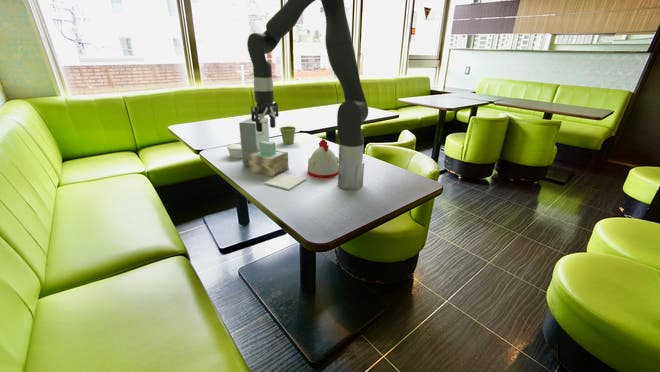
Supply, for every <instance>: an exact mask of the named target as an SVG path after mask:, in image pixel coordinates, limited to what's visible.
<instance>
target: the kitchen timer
mask: <svg viewBox="0 0 660 372" xmlns="http://www.w3.org/2000/svg"><path fill="white" fill-rule="evenodd" d="M318 146H319V147H318V148H316V149H315V150H314V151H313V152H312V154H311V156H310V157H308V162H307V164H308V166H307V175H308V176H310V177H312V178H315V179H322V180H323V179H324V180H325V179H331V178H332V179H333V178H336V177H338V167H339V156H336V154H335V153H334V152H333V151H332V150H331V148H329V147H330V145H329V144H328V141H326V139H324V138H322V139H321V140H320V141H319V142H318Z"/></svg>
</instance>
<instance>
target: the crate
mask: <svg viewBox="0 0 660 372" xmlns="http://www.w3.org/2000/svg"><path fill="white" fill-rule="evenodd" d="M259 151H260V150H258V151H255V152H252V153H250V154H248V159H249V166H248V170H249V172H250V173H254V174H259V175H263V176H268V177H271V178H274V177H276V176H278V175H280V174H282V173H285V172H286V171H288V170H289V152H288V151H284V150H278V149H276V152H281V153H283V154H281V155H278V156H276V157H274V158H268V157H263V156H258V155H253V154H254V153H257V152H259Z"/></svg>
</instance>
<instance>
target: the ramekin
mask: <svg viewBox="0 0 660 372" xmlns="http://www.w3.org/2000/svg"><path fill="white" fill-rule="evenodd" d="M227 151H228V153H229V157H231V158H233V159H242V149H241V142H237V143H232V144H229V145H227Z"/></svg>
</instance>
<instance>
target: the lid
mask: <svg viewBox="0 0 660 372" xmlns="http://www.w3.org/2000/svg"><path fill="white" fill-rule="evenodd" d="M276 150H277V149H276V142H275V141H274V142H273V141H270V140H269V141H262V142H260V151H259V152H257V153H254V154H253V155H258V156H263V157H268V158H274V157H276V156H278V155H281V154H283V153H281V152H276Z"/></svg>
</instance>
